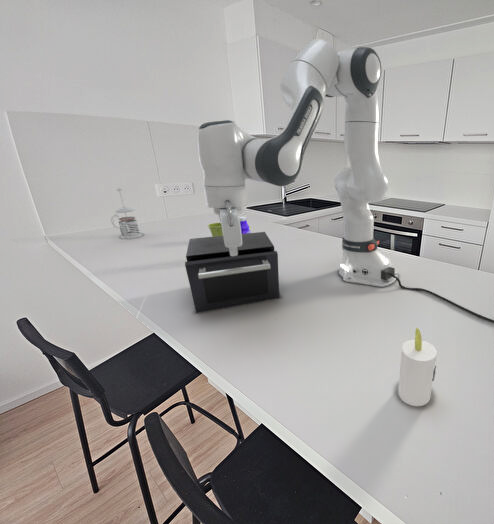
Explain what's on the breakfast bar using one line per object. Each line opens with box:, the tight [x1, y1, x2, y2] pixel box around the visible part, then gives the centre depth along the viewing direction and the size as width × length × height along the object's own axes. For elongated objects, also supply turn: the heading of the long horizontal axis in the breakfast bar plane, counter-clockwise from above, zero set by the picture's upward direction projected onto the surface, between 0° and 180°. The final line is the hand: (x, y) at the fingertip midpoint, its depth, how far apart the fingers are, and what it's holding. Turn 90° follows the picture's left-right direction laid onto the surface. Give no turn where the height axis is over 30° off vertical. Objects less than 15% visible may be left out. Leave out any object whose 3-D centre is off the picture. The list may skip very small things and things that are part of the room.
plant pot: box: [207, 222, 223, 237], centre depth 150 cm, size 9×9×9 cm
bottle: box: [239, 215, 252, 234], centre depth 129 cm, size 7×6×17 cm
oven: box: [185, 231, 275, 262], centre depth 97 cm, size 18×24×17 cm
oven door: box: [184, 250, 280, 314], centre depth 85 cm, size 5×24×17 cm, turn 114°
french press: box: [110, 187, 143, 240], centre depth 153 cm, size 10×12×25 cm
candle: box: [397, 327, 438, 407], centre depth 56 cm, size 6×6×15 cm
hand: (233, 254), depth 73 cm, fingers closed
